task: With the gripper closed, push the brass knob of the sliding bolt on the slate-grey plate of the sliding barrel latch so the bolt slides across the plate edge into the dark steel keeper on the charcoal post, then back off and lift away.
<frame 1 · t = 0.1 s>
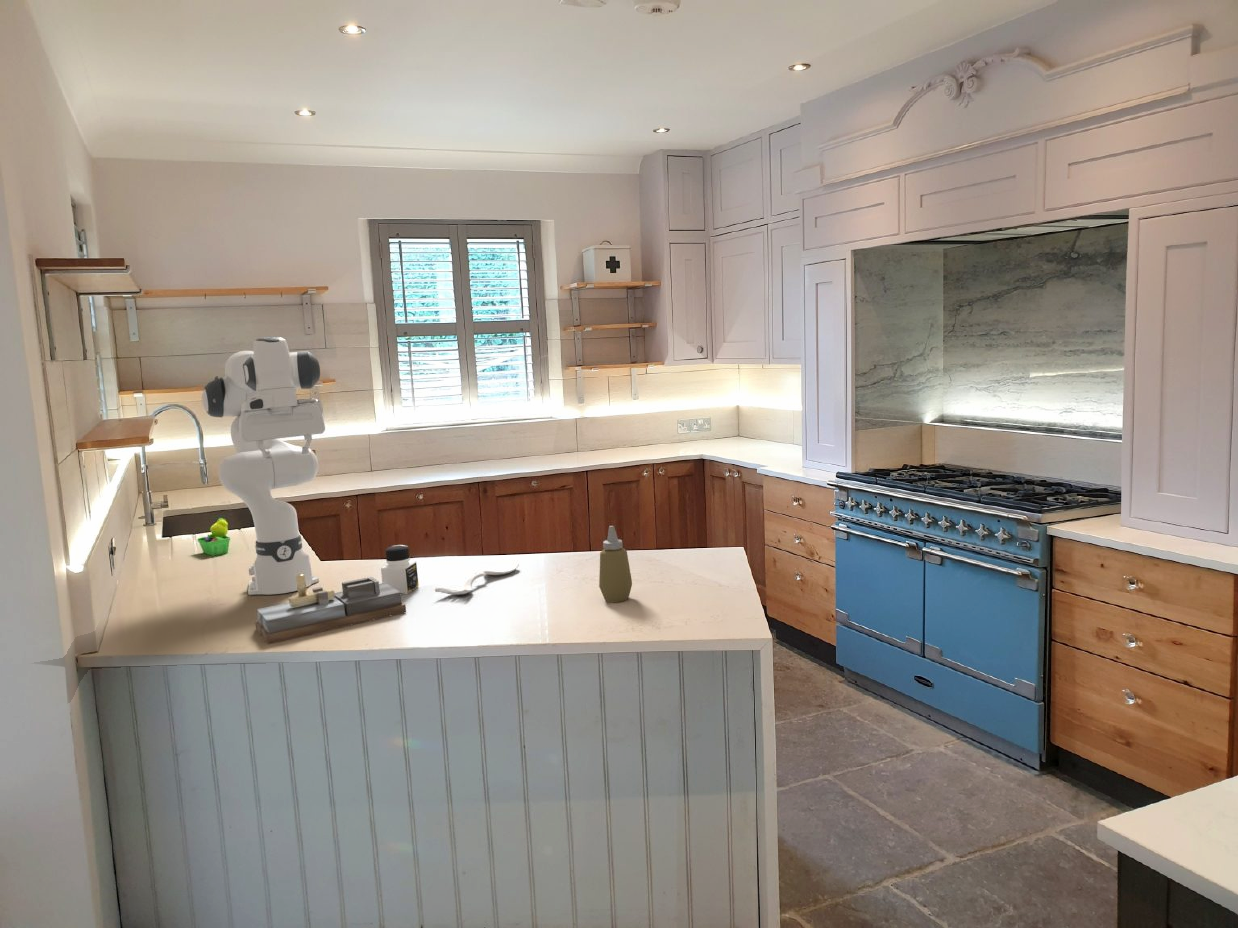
hand: (286, 456, 224), 39 cm above the countertop, tool pointing down, fingers open, 8 cm apart
fruit basket: (217, 553, 303), on the countertop
sliding barrel latch: (332, 620, 215), on the countertop
white fork: (482, 584, 240), on the countertop
medicine bottle: (401, 591, 238), on the countertop
squeeze bottle: (616, 599, 217), on the countertop
bolt: (310, 587, 212), point 9 cm above the countertop, slide at 0.0 cm
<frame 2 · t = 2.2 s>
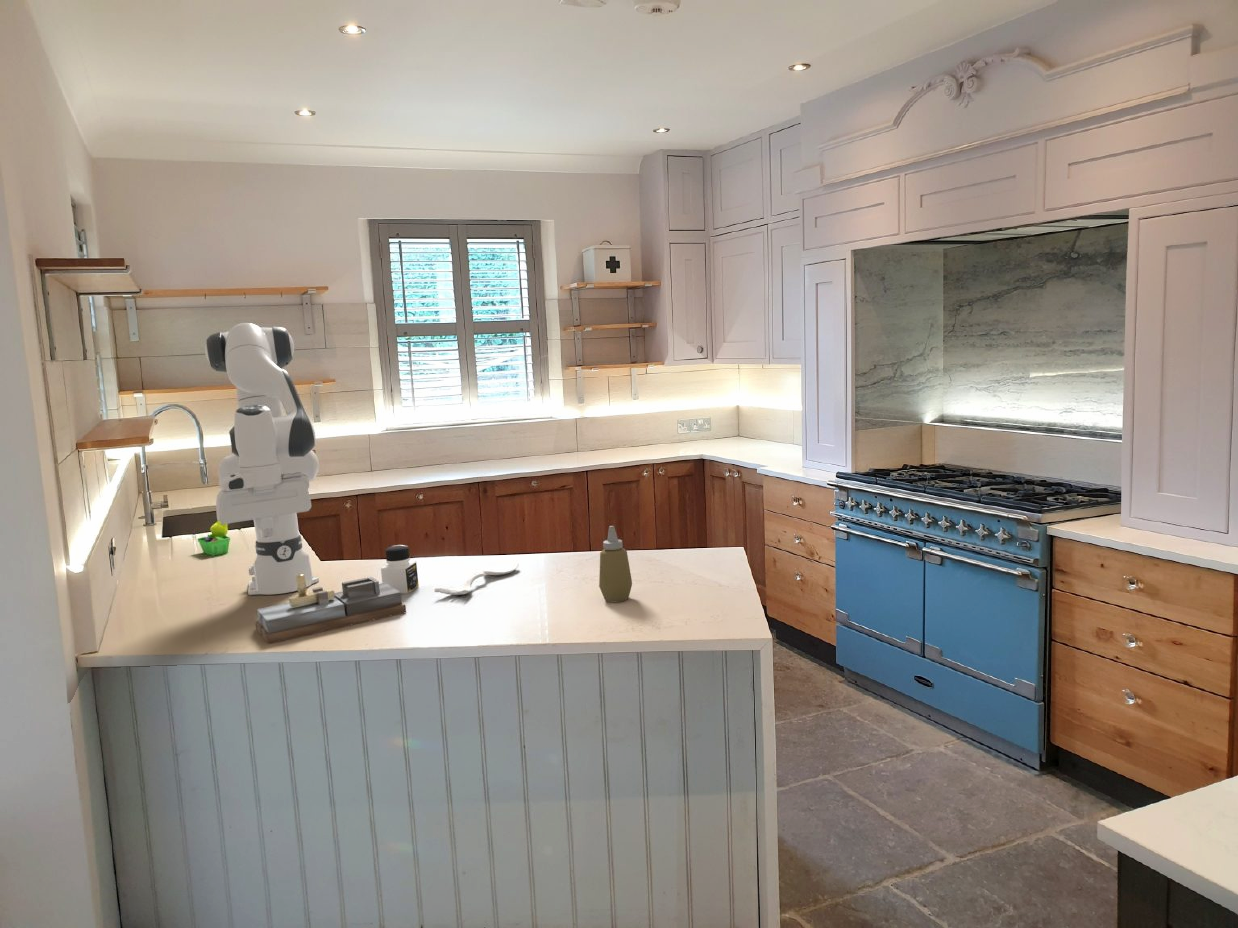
hand: (268, 536, 205), 23 cm above the countertop, tool pointing down, fingers closed
nothing on the countertop moved.
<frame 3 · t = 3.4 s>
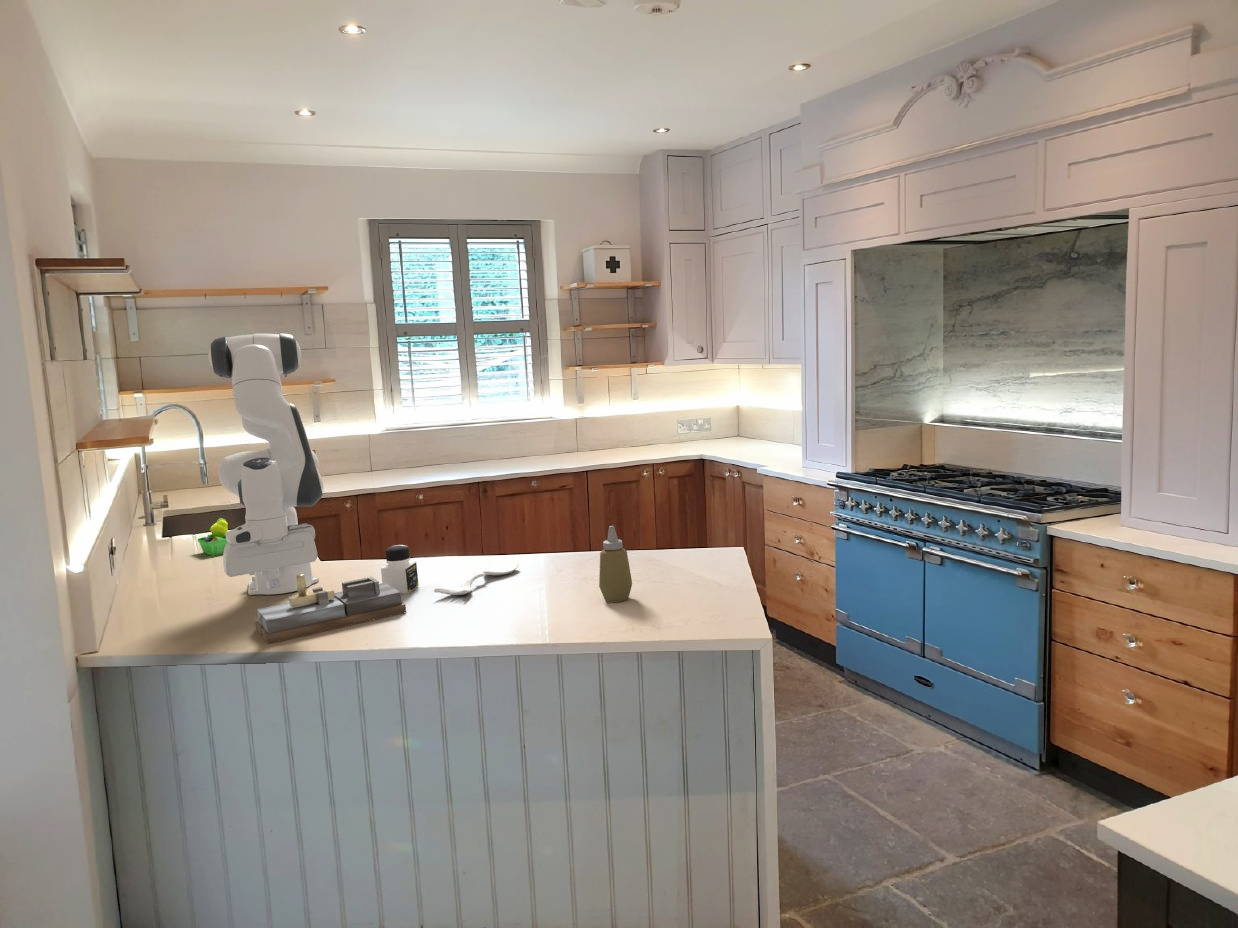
hand: (274, 587, 207), 11 cm above the countertop, tool pointing down, fingers closed
nothing on the countertop moved.
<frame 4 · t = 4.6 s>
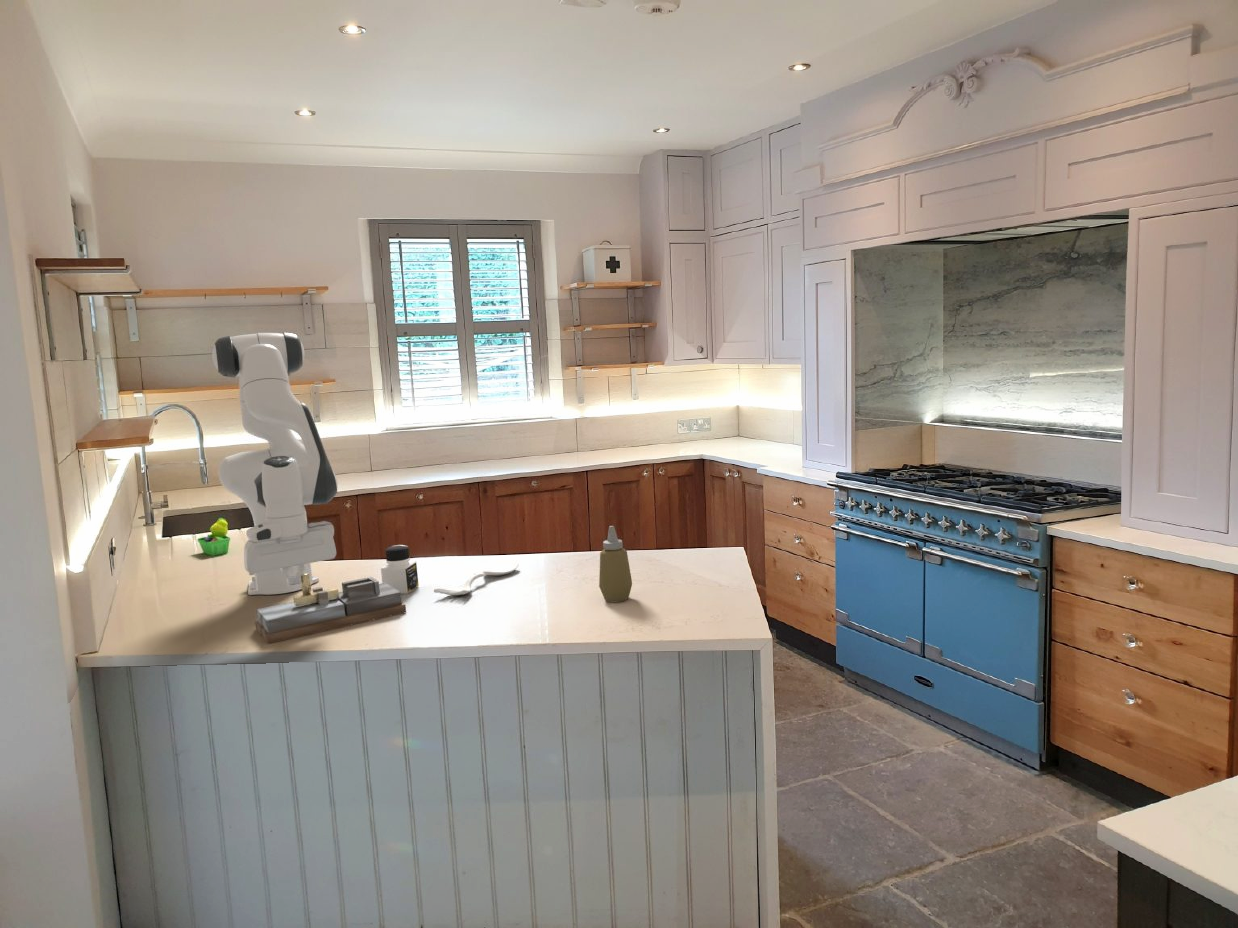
hand: (294, 584, 210), 11 cm above the countertop, tool pointing down, fingers closed
bolt: (315, 586, 212), point 9 cm above the countertop, slide at 1.0 cm, touching gripper
everything else where it was.
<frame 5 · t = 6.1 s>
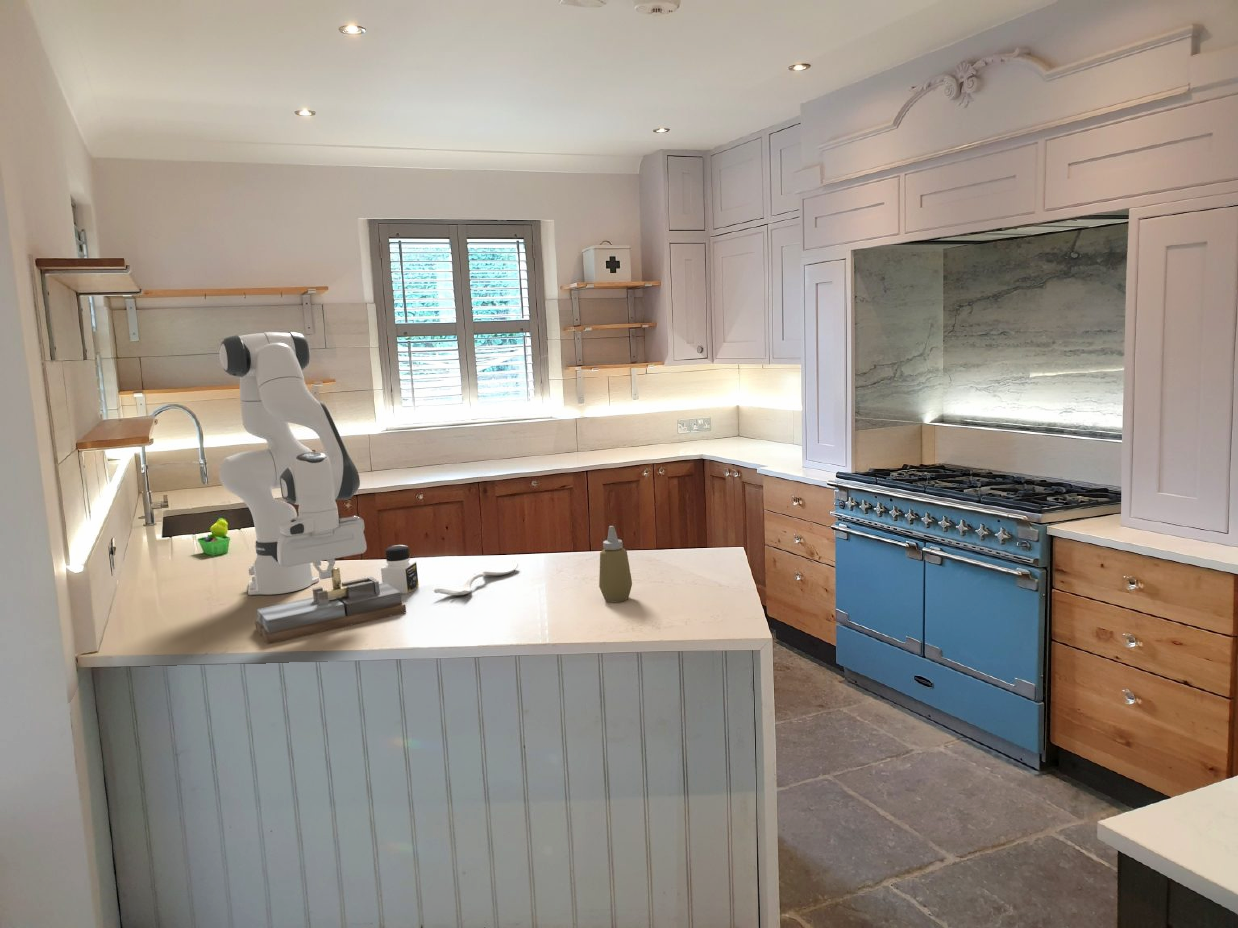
hand: (325, 578, 213), 11 cm above the countertop, tool pointing down, fingers closed
bolt: (344, 580, 216), point 9 cm above the countertop, slide at 8.1 cm, touching gripper
everything else where it was.
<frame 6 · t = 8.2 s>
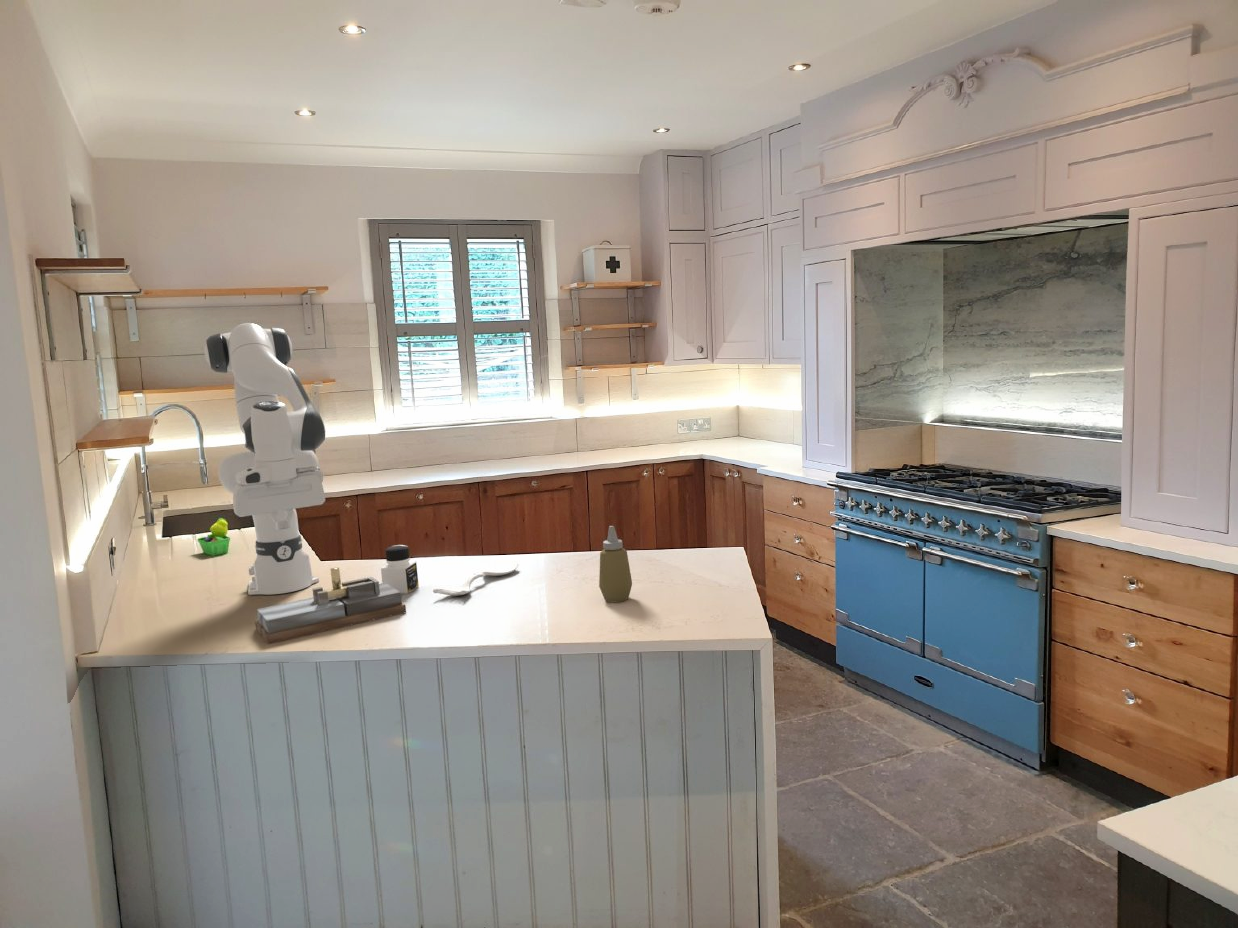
hand: (283, 528, 211), 23 cm above the countertop, tool pointing down, fingers closed
bolt: (344, 580, 216), point 9 cm above the countertop, slide at 8.0 cm
everything else where it was.
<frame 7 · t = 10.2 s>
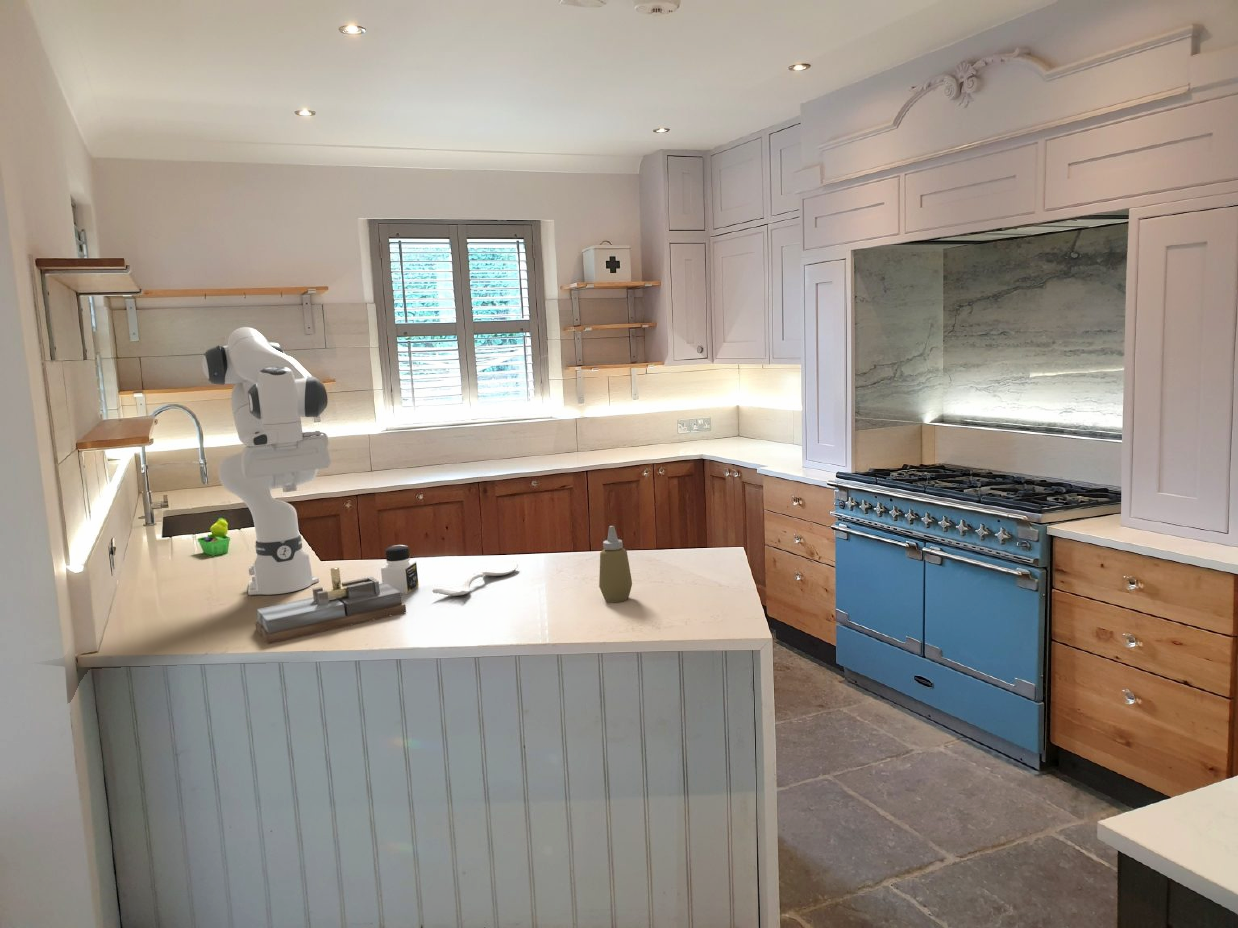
hand: (289, 491, 217), 31 cm above the countertop, tool pointing down, fingers closed
nothing on the countertop moved.
at the end: bolt slide at 8.0 cm; medicine bottle moved 0.2 cm from its start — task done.
